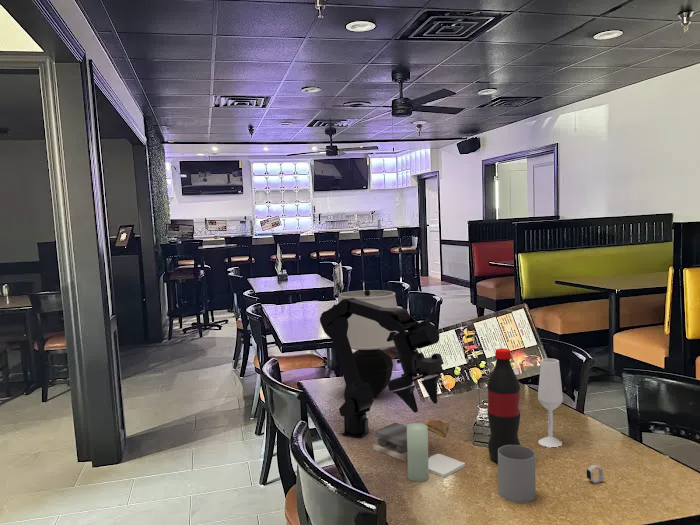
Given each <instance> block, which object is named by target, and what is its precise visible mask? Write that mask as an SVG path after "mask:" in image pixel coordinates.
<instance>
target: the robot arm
mask: <svg viewBox="0 0 700 525" xmlns="http://www.w3.org/2000/svg"><path fill="white" fill-rule="evenodd" d="M352 314H355V315H358V316H362V317H365V318H368V319H371V320H374V321H376V322H378V323H379V325H380V326H381V327H383V328H385V329H387V330H388V331H394V332H390V334H389V337H388V338H387V342H389V341H394V344H395V347H394V348H395V351H396V353H397V357H398V359H396V363H397V365H398V364H400V365H401V369H402V372H403V373H402V374H401V375H400V376H399V377H395V378H393V379H390V381H389V382H388V385H387V387H388V391H389V392H392V393H393V394H396V395H397V396H398V397H399V398H400V399H401V400H402V401H403V403H405V404H406V405H407V406H408V407H409V408H410V410H411V411H412V412H413V413H414V414H415V413H418V412H419V410H418V409H419V408H418V405H417V400H416V397H415V393H414V390H415V388H416V385H415V384H414V382H416V381H418V380H421V381H420V383H421V384H422V386H423V388H424V390H425V391H426V393H427V394H428V397H429V398H430V400H431V402H432V403H433V404H434V405H435V404H438V382H439V380H440V378H442V374H444V373H445V372H444V369H443V366H442V365H444V361H443V357H442V355H441V353H433V354H432V355H431V356H429V357H425V355H424V353H423V352H422V351H421V352H419V350H420V349H423V348H427V347H429V346H433V345H435V344H437V343H438V342H439V341H440V332H439V329H437V327H436V326H435V325H434V324H433V323H431V320H430V319H424V320H422V321H421V322H419V320H416V319H415V318H414V317H413V316H411V314H410V313H409V310H408V309H406V308H403V307H402V308H401V307H397V308H383V307H380V306H377V305H373V304H370V303H367V302H363V301H360V300H357V299H355V298H346V299H343V300H342V301H340V302H339V303H338V302H337V304H335V305H334V306H332V307H329V309H327V310H325V311H323V312H322V313H321V314H320V317H319V323H320V325H321V329H322V330H323V332H324V333H325V335H327V336H328V337H329V339H331V341H332V344H333V348H334V351H335V354H336V358H337V360H338V364H339V366H340V370H341V374H342V377H343V379H344V380H343V381H344V383H345V387H344V393H343V396H344V402H343V404H342V405H341V406H340V407H339V408H338V411H339V415H340V416H341V417H343V423H344V424H343V425H344V426H343V427H344V431H343V432H342V436H346V437H353V438H363V437H364V436H365V435H366V434H367V433H368V432H369V430H370V429H369V418H367V412H368V413H369V412H370V410H371V406H373V403H374V397H375V396H374V394H373V393H372V390H371V386H370V384H369V383H366V384H365V383H364V382H363V381H362V380H361V378H360V374H359V371H358V368H357V365H356V362H355V359H354V356H353V349H351V346H350V343H349V340H348V337H347V331H348V326H349V325H348V318H350V317H351V316H352ZM395 331H397V332H398V333H396V332H395ZM413 384H414V385H413Z"/></svg>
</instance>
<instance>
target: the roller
mask: <svg viewBox="0 0 700 525" xmlns="http://www.w3.org/2000/svg"><path fill="white" fill-rule="evenodd" d="M425 424H426V423H421V422H412V423H409V424H407V425H406V426H407V456H408V460H407V478H408V480H410V481H412V482H416V481H417V483H418V482H419V483H420V481H422V482H426V481H428V480H429V478H430V475H429V473H430V472H429V467H428V458H429V432H428V430H429V429H428V427H427V425H425Z"/></svg>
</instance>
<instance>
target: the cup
mask: <svg viewBox="0 0 700 525" xmlns="http://www.w3.org/2000/svg"><path fill="white" fill-rule="evenodd" d="M497 477H498V478H497V480H498V481H497V482H498V483H497V484H498V485H497V486H498V487H497V490H498V491H497V492H498V495H499V496H500V497H501V498H503V499H504V500H506V501H508V502H512V503H520V504H521V503H522V504H525V503H530V502H532V501H533V500H535V499H536V491H537V490H536V452H535V451H534V450H533V449H531V448H530V447H527V446H524V445H521V444H520V445H506V446H502V447H500V448H499V449H498V462H497Z"/></svg>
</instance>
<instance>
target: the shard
mask: <svg viewBox="0 0 700 525" xmlns="http://www.w3.org/2000/svg"><path fill="white" fill-rule="evenodd" d="M424 424H425V425H427V427H428V430H430V431H431V432H433V433H436V434H437V435H439V436H442V437H445V438H446V433H447V430H448V428H449V422H448V421H445V420H442V419H427V421H426V422H425V423H424Z"/></svg>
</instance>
